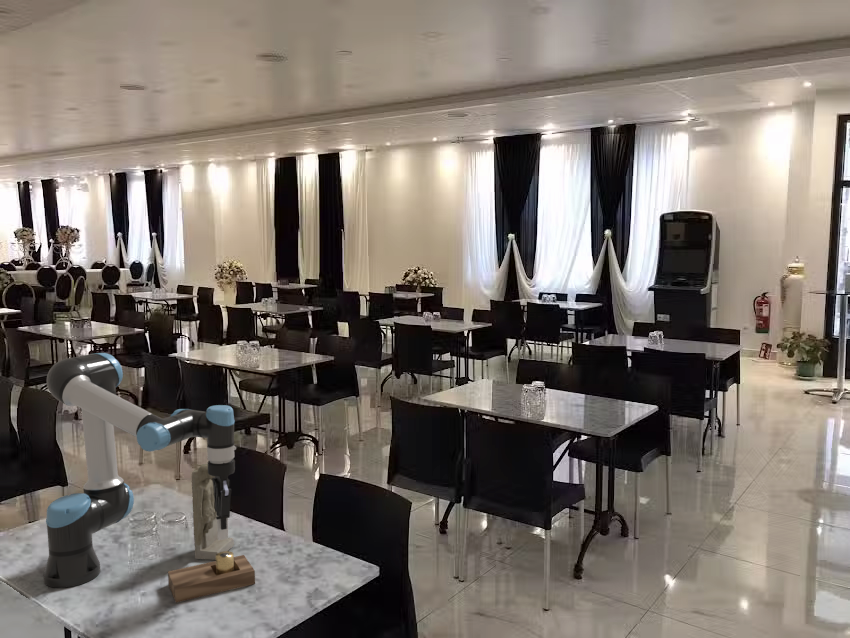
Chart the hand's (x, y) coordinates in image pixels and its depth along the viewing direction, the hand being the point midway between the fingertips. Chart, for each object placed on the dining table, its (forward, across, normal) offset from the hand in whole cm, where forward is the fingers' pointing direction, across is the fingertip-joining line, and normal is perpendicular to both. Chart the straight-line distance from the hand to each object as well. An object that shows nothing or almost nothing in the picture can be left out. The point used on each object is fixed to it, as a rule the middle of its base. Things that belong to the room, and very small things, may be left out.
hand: (222, 538), depth 204 cm
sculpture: (+13, +20, -2) cm, 24 cm away
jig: (+13, -1, +4) cm, 13 cm away
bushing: (+13, -1, 0) cm, 13 cm away
